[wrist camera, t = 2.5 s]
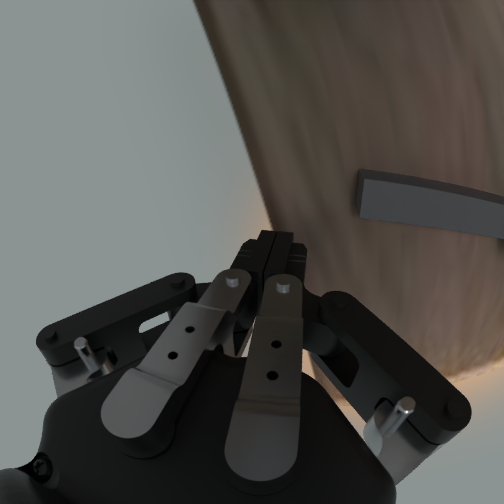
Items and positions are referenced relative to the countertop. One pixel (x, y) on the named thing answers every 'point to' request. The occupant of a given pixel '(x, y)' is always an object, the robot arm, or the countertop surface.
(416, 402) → the robot arm
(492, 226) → the plug
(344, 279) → the countertop surface
